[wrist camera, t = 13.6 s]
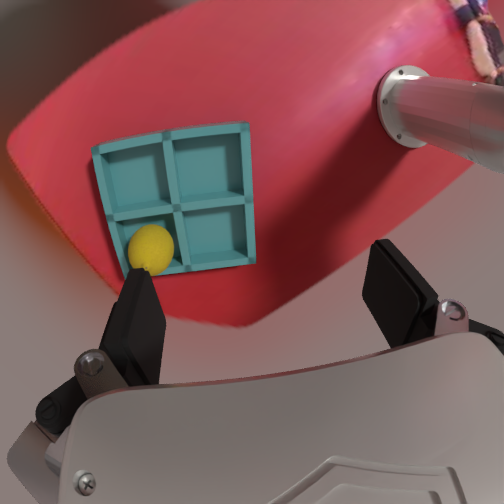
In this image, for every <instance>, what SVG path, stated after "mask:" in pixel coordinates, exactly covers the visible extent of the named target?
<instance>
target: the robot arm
mask: <svg viewBox="0 0 504 504" xmlns="http://www.w3.org/2000/svg"><path fill="white" fill-rule="evenodd" d="M377 109H378V114H379V118H380V121H381V123H382V126H383V128H384V129H385V131H386V132H387V134H388V135H389V136H390V137H391V138H392V139H393V140H394V141H396V142H397V143H399V144H401V145H403V146H406V147H410V148H418V147H422V146H424V145H426V144H431V145H434V146H436V147H439V148H442V149H444V150H447V151H449V152H452V153H454V154H457V155H459V156H461V157H464V158H466V159H468V160H471V161H473V162H475V163H477V164H480V165H482V166H484V167H486V168H488V169H490V170H492V171H495V172H498V173H503V174H504V87H502V86H497V85H492V84H486V83H480V82H474V81H467V80H460V79H452V78H442V77H430V76H429V75H428V74H427V73H426V72H425V71H423V70H422V69H420V68H418V67H416V66H411V65H401V66H397V67H395V68H393V69H391V70H390V71H389V72H388V73H387V74H386V75H385V76H384V78H383V79H382V81H381V83H380V86H379V89H378V94H377ZM362 296H363V300H364V302H365V303H366V305H367V307H368V308H369V310H370V312H371V314H372V315H373V317H374V319H375V320H376V322H377V324H378V326H379V328H380V329H381V331H382V333H383V335H384V336H385V338H386V340H387V342H388V344H389V346H390V347H391V349H387V350H384V351H380V352H376V353H372V354H368V355H365V356H360V357H356V358H352V359H348V360H343V361H339V362H334V363H330V364H325V365H320V366H315V367H310V368H304V369H299V370H294V371H287V372H281V373H275V374H268V375H261V376H253V377H246V378H238V379H227V380H217V381H206V382H192V383H177V384H159V376H160V367H161V359H162V352H163V343H164V337H165V330H166V319H165V316H164V313H163V310H162V308H161V305H160V302H159V299H158V296H157V293H156V291H155V288H154V285H153V282H152V278H151V275H150V273H149V271H145V269H144V268H135V269H130V270H129V272H128V274H127V277H126V280H125V282H124V285H123V287H122V290H121V293H120V295H119V298H118V301H117V302H115V303H114V305H113V308H112V311H111V313H110V316H109V319H108V322H107V324H106V327H105V330H104V333H103V336H102V339H101V343H100V346H99V349H91V350H88V351H86V352H84V353H82V354H81V355H80V356H79V357H78V358H77V360H76V362H75V364H74V373H75V376H74V377H72V378H71V379H70V380H68V381H67V382H65V383H64V384H63V385H61V386H60V387H58V388H57V389H56V390H54V391H53V392H51V393H50V394H49V395H47V396H46V397H45V398H43V399H42V400H41V401H40V403H39V404H38V406H37V408H36V421H35V422H32V421H31V422H30V423H29V424H28V426H27V427H26V428H25V429H24V431H23V432H22V433H21V435H20V436H19V437H18V439H17V440H16V441H15V443H14V444H13V446H12V447H11V448H10V450H9V452H8V455H7V462H8V465H9V467H10V469H11V470H12V472H13V473H14V474H15V476H16V477H17V478H18V479H19V481H20V482H21V483H22V484H23V486H25V488H26V489H27V490H28V491H29V493H30V494H31V495H32V496H33V497H34V498H35V499H36V500H37V502H38V503H39V504H504V334H503V333H502V332H501V331H499V330H497V329H495V328H492V327H490V326H487V325H484V324H482V323H479V322H476V321H474V320H471V319H469V315H468V311H467V309H466V307H465V306H464V305H463V304H462V303H460V302H459V301H456V300H454V299H444V300H442V301H441V302H439V301H438V300H437V298H438V294H437V293H436V292H435V291H434V290H433V288H432V287H431V286H430V285H429V284H428V283H427V281H426V280H425V279H424V278H423V277H422V276H421V274H420V273H419V272H418V271H417V270H416V269H415V267H414V266H413V265H412V264H411V263H410V262H409V261H408V260H407V258H406V257H405V256H404V255H403V254H402V253H401V252H400V251H399V250H398V249H397V248H396V247H395V245H394V244H393V243H392V242H391V241H390V240H389V239H381V240H376V241H375V242H374V244H372V245H371V248H370V255H369V260H368V265H367V271H366V276H365V281H364V286H363V290H362Z"/></svg>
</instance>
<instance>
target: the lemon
mask: <svg viewBox="0 0 504 504" xmlns="http://www.w3.org/2000/svg"><path fill="white" fill-rule="evenodd" d="M173 254H174V243H173V239H172V237H171V235H170V233H169V232H168V231H167V230H166V229H165V228H163V227H162V226H159V225H156V224H149V225H145V226H143V227H141V228H139V229H138V230H137V231H136V232H135V233H134V234H133V236H132V237H131V240H130V243H129V246H128V257H129V261H130V264H131V265H132V267H133V268H134V269H135V268H144V269H145V271H149V273H150V275H151V276H155V275H158V274H160V273H162V272H163V271H164V270H165V269H166V268H167V267H168V266H169V264H170V262H171V260H172V257H173Z"/></svg>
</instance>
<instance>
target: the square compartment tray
mask: <svg viewBox="0 0 504 504" xmlns="http://www.w3.org/2000/svg"><path fill="white" fill-rule="evenodd" d="M91 152H92V157H93V163H94V168H95V173H96V177H97V182H98V186H99V191H100V195H101V199H102V203H103V207H104V211H105V215H106V219H107V223H108V226H109V230H110V233H111V237H112V240H113V243H114V247H115V250H116V253H117V256H118V260H119V263H120V266H121V269H122V272H123V275H124V278H125V279H126V277H127V274H128V272H129V270H130V269H134V268H133V267H132V265H131V264H130V261H129V257H128V246H129V243H130V240H131V237H132V236H133V234H134V233H135V232H136V231H137V230H138V229H139V228H141V227H143V226H145V225H149V224H156V225H159V226H162V227H163V228H165V229H166V230H167V231H168V232H169V233H170V235H171V237H172V239H173V243H174V254H173V257H172V260H171V262H170V264H169V266H168V267H167V268H166V269H165V270H164V271H163V272H162V273H160V274H158V275H165V274H173V273H182V272H190V271H198V270H206V269H215V268H223V267H231V266H239V265H246V264H254V263H256V247H255V226H254V206H253V186H252V166H251V146H250V127H249V122H247V121H232V122H220V123H210V124H201V125H193V126H186V127H178V128H172V129H165V130H159V131H153V132H148V133H142V134H137V135H132V136H127V137H123V138H118V139H114V140H109V141H105V142H101V143H99V144H97V145H95V146H93V147H91ZM155 276H156V275H155Z"/></svg>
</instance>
